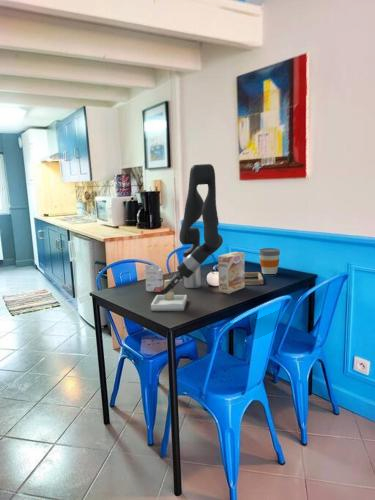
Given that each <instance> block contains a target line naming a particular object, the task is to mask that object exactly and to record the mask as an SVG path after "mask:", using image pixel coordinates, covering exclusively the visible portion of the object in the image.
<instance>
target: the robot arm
mask: <svg viewBox="0 0 375 500" xmlns="http://www.w3.org/2000/svg"><path fill="white" fill-rule="evenodd" d="M199 185H200V186H201V185H207V194H206V197H205V199H203V197H202V196H201V194H200V193H199V191H198V186H199ZM216 193H217V187H216V172H215V168H214V166H213V164H210V163H205V164H201V163H200V164H194V165H192V166H191V168H190V170H189V181H188V190H187V196H186V200H185V206H184V213H183V219H182V223H181V225H180V226H181V227H180V229H179V230H180V231H179V236H178V237H179V243H181V245H191V247H189V248H188V249H185V250H184V251H182V259H183V260H182V261H181V262H180V264H178V266H176V267H177V268H176V269H177V271H178V272H176V273H174V276H172V278H171V279H170V280H171V282H170V283H169V284H168V286H167V287H166V288H165V289H164V288H163V290H162V292H163V294H164V295H165V294H167V293H168V292H169V290H170V289H173V287H174V288H175V286H178V284H179V283H180V282H182V281H183V283H184V285H183V286H184V288H187V289H197V288H201V283H202V282H201V265H202V264H203V263H204V262H205V261H206V260H207V259H208V257H210V256H211V255H213V254H214V253H215V252H217V250H219V249H220V248H221V246H222V244H223V242H224V239H223V237H222V235H221V234H219V229H218V228H219V227H218V226H219V215H218V209H217V199H216V198H217V194H216ZM201 217H202V223H203V239H204V241H203V243H202V244H201V232H200V229H199V228H198V227H196V226H194V227H193V225H194V224H195V223H196V222H197V221H198V220H199V219H200V218H201ZM171 284H173V286H172V285H171Z"/></svg>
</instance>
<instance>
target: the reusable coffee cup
mask: <svg viewBox="0 0 375 500" xmlns="http://www.w3.org/2000/svg"><path fill="white" fill-rule="evenodd" d="M258 255H259V264H260V267H261V274H262V273H263V275H264V274H275V275H277V274H276V273H278V267H279V265H280V255H281V253H280V249H279V248H275V247H274V248H273V247H265V248H261V249H259V254H258Z"/></svg>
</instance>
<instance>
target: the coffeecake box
mask: <svg viewBox="0 0 375 500" xmlns="http://www.w3.org/2000/svg"><path fill="white" fill-rule="evenodd" d="M217 257H218V258H217V261H218V267H217V268H218V292H219V293H225V294H229V295H230V294H231V293H234V292H236V291H239V290H241V289H244V288H245V287H246V285H245V280H246V279H245V278H246V277H245V252H241V251H240V252H239V251H234V252H233V251H232V252H229V253H223V254H221V255H220V254H219V255H218V256H217Z"/></svg>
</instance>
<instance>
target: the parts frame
mask: <svg viewBox="0 0 375 500" xmlns="http://www.w3.org/2000/svg"><path fill="white" fill-rule="evenodd" d="M245 278H257V279H245V286H256V285H258V286H259V285H260V284H261V285H264V278H263V276H262V272H258V271H256V272H255V271H254V272H253V271H252V272H247V271H246V272H245ZM261 285H260V286H261Z"/></svg>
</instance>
